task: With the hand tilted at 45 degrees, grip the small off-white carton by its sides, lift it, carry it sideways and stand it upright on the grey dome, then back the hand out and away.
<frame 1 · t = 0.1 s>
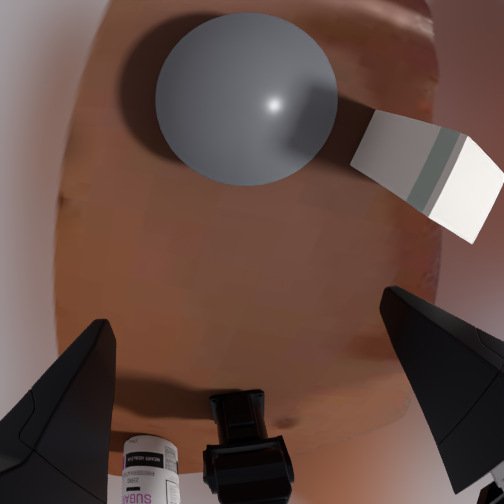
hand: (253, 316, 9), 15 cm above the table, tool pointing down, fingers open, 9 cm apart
grey dome: (243, 97, 19), on the table
carton: (386, 150, 23), on the table
supplement can: (150, 443, 39), on the table
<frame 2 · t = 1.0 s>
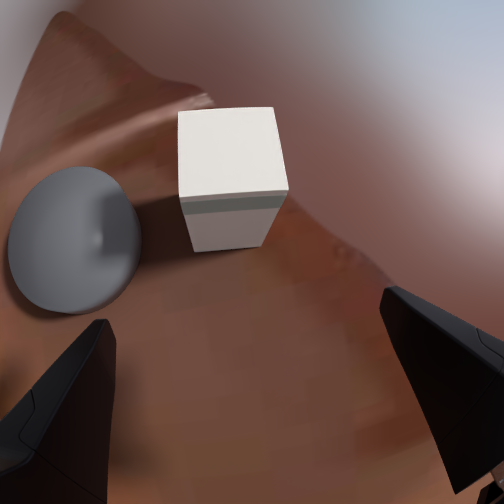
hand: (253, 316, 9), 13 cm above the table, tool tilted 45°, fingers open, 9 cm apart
grey dome: (78, 245, 22), on the table
carton: (224, 218, 24), on the table
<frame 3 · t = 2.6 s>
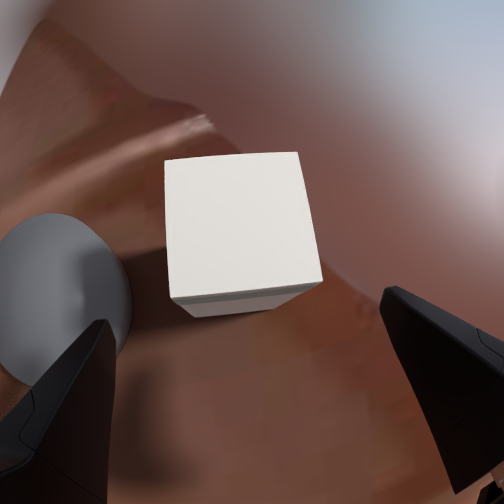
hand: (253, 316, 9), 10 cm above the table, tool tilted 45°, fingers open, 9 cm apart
grey dome: (60, 304, 18), on the table
carton: (229, 274, 20), on the table
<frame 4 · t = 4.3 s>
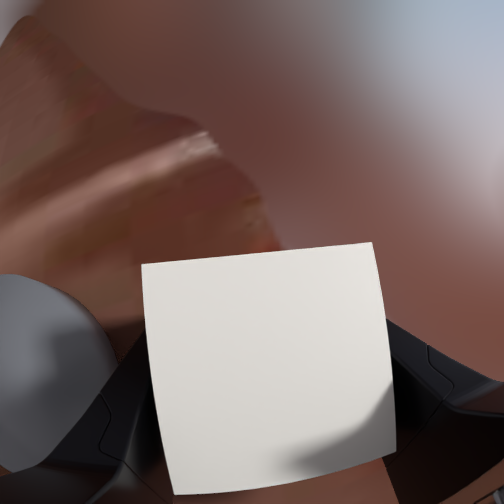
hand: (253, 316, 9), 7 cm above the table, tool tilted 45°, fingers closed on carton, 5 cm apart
grey dome: (38, 378, 14), on the table
carton: (242, 350, 15), on the table, touching gripper
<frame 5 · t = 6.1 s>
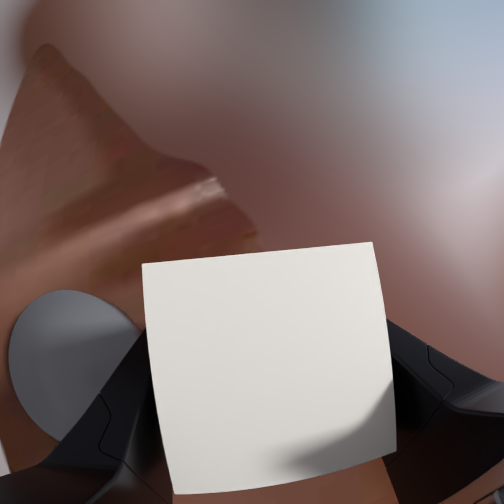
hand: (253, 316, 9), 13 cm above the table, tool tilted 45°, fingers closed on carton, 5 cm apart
grey dome: (84, 367, 20), on the table
carton: (242, 350, 15), point 6 cm above the table, touching gripper
when the fingers open (11 cm above the table, at t = 8.0 s): carton drops 1 cm, resting on grey dome.
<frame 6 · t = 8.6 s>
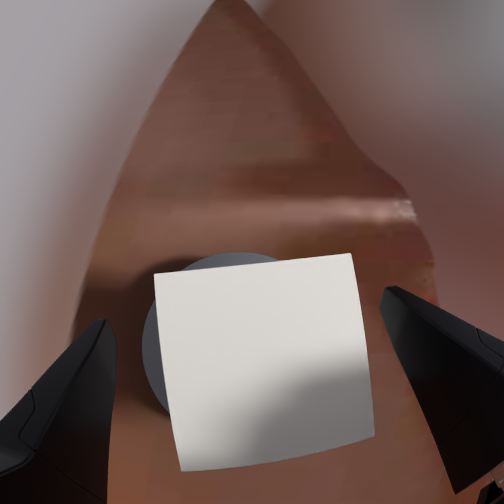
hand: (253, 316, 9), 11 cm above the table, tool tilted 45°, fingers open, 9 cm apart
grey dome: (237, 347, 20), on the table
carton: (241, 349, 17), point 3 cm above the table, touching grey dome
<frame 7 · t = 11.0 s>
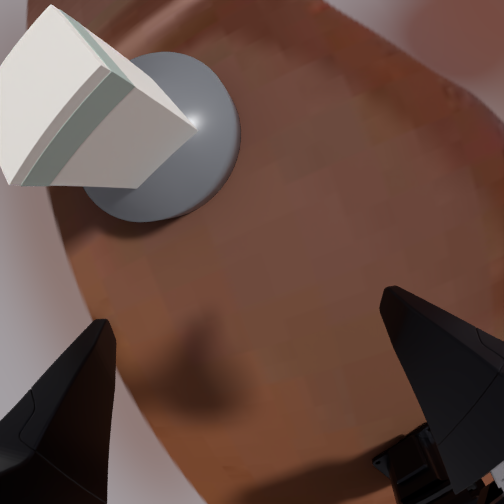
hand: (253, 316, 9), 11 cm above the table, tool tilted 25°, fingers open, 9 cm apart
grey dome: (162, 140, 20), on the table
carton: (143, 131, 17), point 3 cm above the table, touching grey dome
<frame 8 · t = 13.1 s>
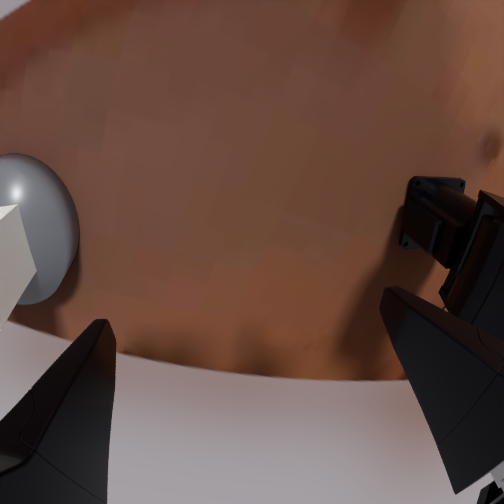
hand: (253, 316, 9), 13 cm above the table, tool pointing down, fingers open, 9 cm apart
grey dome: (19, 223, 19), on the table
carton: (0, 241, 16), point 3 cm above the table, touching grey dome
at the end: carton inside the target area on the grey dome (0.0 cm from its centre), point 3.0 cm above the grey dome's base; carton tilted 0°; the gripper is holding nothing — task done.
